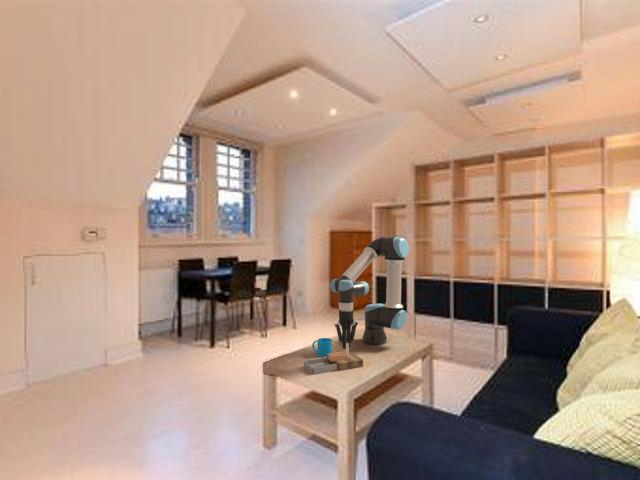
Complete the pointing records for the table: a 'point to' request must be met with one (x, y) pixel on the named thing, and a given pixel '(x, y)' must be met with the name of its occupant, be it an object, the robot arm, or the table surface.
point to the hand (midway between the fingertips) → (346, 354)
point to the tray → (319, 365)
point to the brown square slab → (347, 362)
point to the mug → (323, 346)
